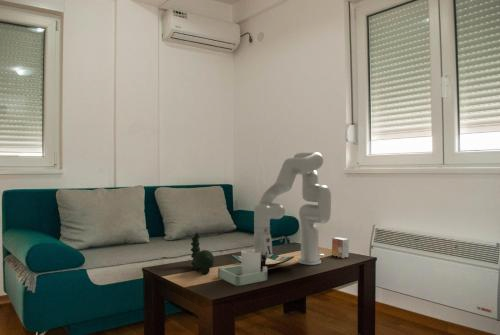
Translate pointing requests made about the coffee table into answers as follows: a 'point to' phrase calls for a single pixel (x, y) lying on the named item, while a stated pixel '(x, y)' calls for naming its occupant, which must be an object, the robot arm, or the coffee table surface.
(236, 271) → the tray
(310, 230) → the robot arm
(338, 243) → the small box
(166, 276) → the coffee table surface
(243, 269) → the candle holder
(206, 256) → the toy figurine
